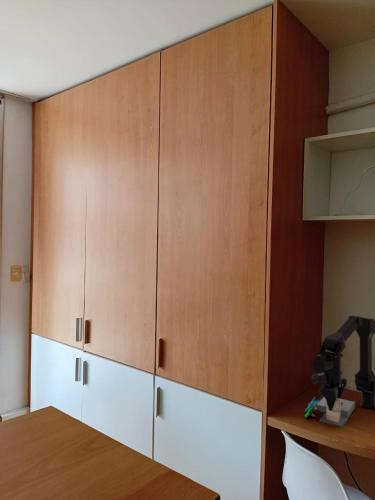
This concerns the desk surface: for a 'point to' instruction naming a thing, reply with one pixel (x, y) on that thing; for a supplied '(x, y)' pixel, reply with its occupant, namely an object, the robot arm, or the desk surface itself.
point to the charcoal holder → (345, 407)
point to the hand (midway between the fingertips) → (333, 406)
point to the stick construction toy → (312, 408)
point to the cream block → (334, 411)
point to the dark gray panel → (339, 424)
